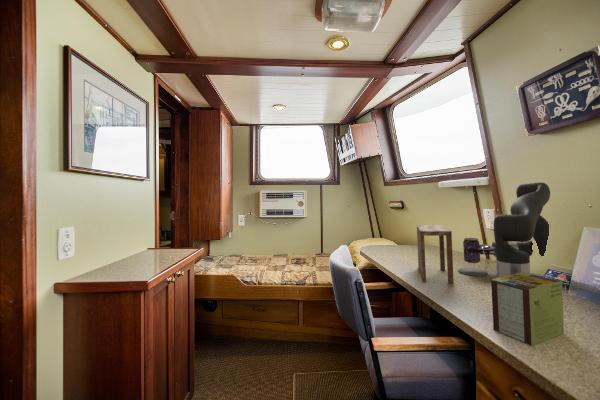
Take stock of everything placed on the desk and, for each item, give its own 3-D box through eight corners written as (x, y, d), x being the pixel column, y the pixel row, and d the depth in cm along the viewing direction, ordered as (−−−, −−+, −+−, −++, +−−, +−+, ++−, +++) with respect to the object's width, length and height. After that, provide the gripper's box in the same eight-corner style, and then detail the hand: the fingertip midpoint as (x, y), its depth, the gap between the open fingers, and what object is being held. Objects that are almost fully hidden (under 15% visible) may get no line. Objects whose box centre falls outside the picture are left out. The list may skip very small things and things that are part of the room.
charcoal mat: (487, 270, 143) (487, 269, 143) (487, 277, 132) (487, 276, 132) (459, 267, 150) (459, 266, 150) (456, 274, 140) (456, 272, 140)
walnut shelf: (444, 269, 149) (442, 225, 149) (453, 283, 126) (451, 231, 125) (418, 268, 154) (416, 225, 153) (422, 282, 130) (420, 231, 130)
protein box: (565, 333, 79) (562, 280, 79) (531, 346, 73) (529, 289, 73) (524, 319, 89) (522, 271, 89) (491, 329, 83) (489, 278, 83)
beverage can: (461, 261, 143) (459, 238, 143) (470, 259, 146) (468, 237, 146) (474, 264, 137) (473, 240, 137) (483, 262, 140) (482, 238, 140)
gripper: (499, 239, 143) (463, 239, 149) (510, 244, 130) (469, 244, 135) (500, 253, 143) (463, 253, 149) (511, 260, 130) (470, 259, 135)
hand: (466, 249), depth 142 cm, fingers closed on beverage can, 6 cm apart
